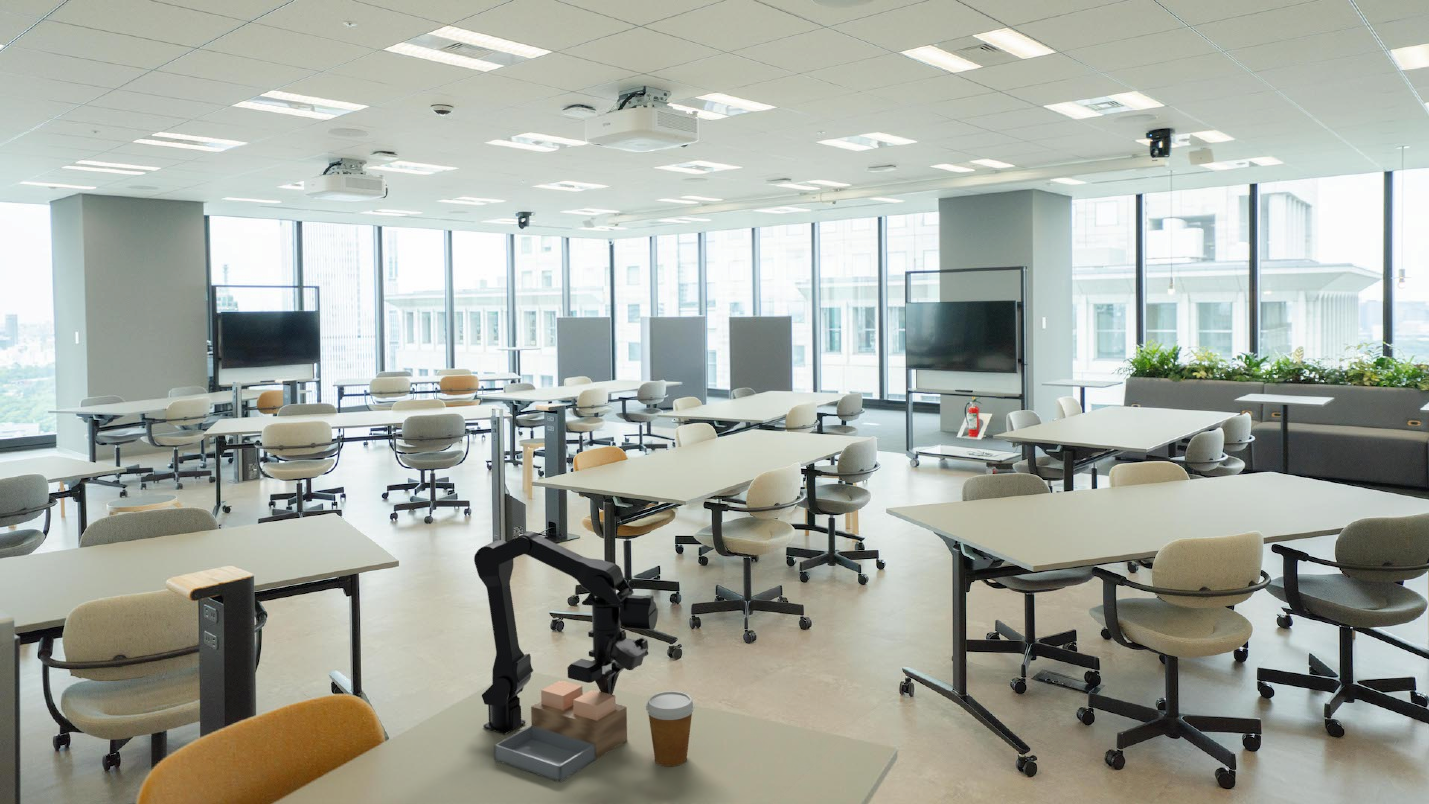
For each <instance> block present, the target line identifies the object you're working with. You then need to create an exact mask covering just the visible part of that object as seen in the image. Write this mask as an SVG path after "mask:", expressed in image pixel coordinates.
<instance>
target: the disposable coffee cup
mask: <svg viewBox="0 0 1429 804" xmlns="http://www.w3.org/2000/svg"><path fill="white" fill-rule="evenodd" d="M694 709H695V702H694V701H693V698H692V697H691V695H690V694H688V693H685V692H682V691H678V690H677V691H672V690H671V691H669V690H668V691H661V692H660V691H659V692H657V693H654V694H652V695H651V696H650V697H648V699H647V703H646V706H645V710H646V711H647V715H648V719H649V720H648V722H649V727H650V734H651V742H652V747H653V748H652V749H653V755H654V761H655V763H656V764H658V765H660V766H664V767H677V766H680V765H682V764H684V763H686V762H687V758H688V750H689V743H690V731H691V724H692V717H693V712H694Z"/></svg>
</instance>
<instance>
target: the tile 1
mask: <svg viewBox="0 0 1429 804" xmlns="http://www.w3.org/2000/svg"><path fill="white" fill-rule="evenodd" d="M583 694H584V693H583V685H579V684H575V683H572V682H568V681H564V680H561V679H560V680H559V681H556V682H555V683H552V684H551V685H548V686H547V687H545V688H542V689H541V690H540V697H541V700H540V702H541V704H543V705H546V706H550V707H553V708H557V709H561V710H565V709H567V708H569V707H571V706H572V705H573V700H574V699H576V698H578V697H580V696H581V695H583Z"/></svg>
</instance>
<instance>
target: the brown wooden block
mask: <svg viewBox="0 0 1429 804" xmlns="http://www.w3.org/2000/svg"><path fill="white" fill-rule="evenodd" d="M627 708H628V706H625V705H621V704H619V703H618V704H617V703H616V710H615V711H613V712H611V713H609V714H608V715H606V716H604V717H603V718H601V719H599V720H597V721H596V720H592V719H589V718H585V717H582V716H578V715H575V714H574V707H573V705H572V706H571V707H569V708H567V709H565V710H561V709H557V708H553V707H550V706H546V705H543V704H541V701H539V702H537V703H535V704H534V705H531V706H530V714H531V725H532V726H535V727H539V728H542V729H545V730H549V731H552V732H555V733H559V734H562V735H565V736H569V737H572V738H575V739H579V740H582V741H585V742H588V743H592V744H595V745H596V760H598V759H599V758H600V757H602V756H604V755H605V754H607V753H608V752H610V751H612V750H613V749H615V748H616V747H619V746H620V745H622V744H623V743H624V742H626V741H627V740H628V717H627V716H628V714H627V712H628V710H627Z"/></svg>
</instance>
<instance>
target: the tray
mask: <svg viewBox="0 0 1429 804" xmlns="http://www.w3.org/2000/svg"><path fill="white" fill-rule="evenodd" d="M493 749H494V750H493V754H494V755H493V758H494V761H496V762H498V763H503V764H505V765H508V766H511V767H514V768H517V769H520V770H523V771H526V772H529V773H531V774H535V775H538V776H541V777H544V778H546V779H549V780H552V781H555V782H558V783H561V782H563V781H565V780H566V779H567V778H569V777H571V776H573V774H576V773H577V772H579V771H580V770H581V769H583V768H585V767H586V766H588V765H590V764H591V763H592V762H593V763H594V762H595V761H596V760H597V759H596V745H595V744H592V743H588V742H585V741H582V740H579V739H575V738H572V737H569V736H565V735H562V734H559V733H555V732H552V731H549V730H545V729H542V728H539V727H535V726H532V724H531V725H530V726H528V727H525V728H524V729H521V731H518V732H516V733H515V734H512V735H511V736H508V737H507V738H504V739H503V740H501V741H500V742H499V741H498V742H497V743H496V744H494V745H493Z"/></svg>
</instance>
